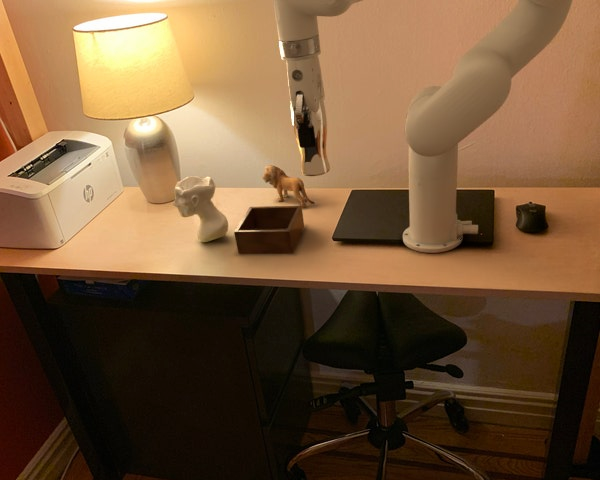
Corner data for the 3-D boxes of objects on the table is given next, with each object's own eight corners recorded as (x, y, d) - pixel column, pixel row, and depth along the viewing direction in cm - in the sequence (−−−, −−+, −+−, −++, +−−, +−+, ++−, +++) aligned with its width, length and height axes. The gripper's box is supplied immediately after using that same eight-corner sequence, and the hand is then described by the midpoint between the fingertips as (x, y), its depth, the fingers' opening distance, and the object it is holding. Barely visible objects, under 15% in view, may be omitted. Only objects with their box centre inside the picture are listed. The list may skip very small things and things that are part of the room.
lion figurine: (263, 201, 155) (257, 168, 150) (275, 193, 158) (270, 161, 153) (309, 209, 147) (305, 175, 142) (321, 201, 150) (317, 167, 145)
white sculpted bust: (235, 241, 137) (223, 181, 129) (189, 255, 135) (173, 194, 126) (224, 226, 145) (211, 168, 137) (179, 238, 142) (164, 180, 134)
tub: (304, 226, 140) (301, 205, 136) (292, 253, 129) (289, 231, 126) (253, 227, 143) (249, 206, 140) (238, 253, 132) (233, 231, 129)
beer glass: (329, 176, 120) (320, 102, 112) (296, 178, 122) (285, 105, 114) (334, 163, 126) (326, 91, 118) (302, 165, 128) (293, 94, 119)
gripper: (310, 56, 103) (322, 154, 113) (327, 35, 117) (336, 124, 126) (269, 60, 105) (284, 157, 114) (291, 39, 118) (302, 127, 128)
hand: (311, 139), depth 120 cm, fingers closed on beer glass, 7 cm apart
